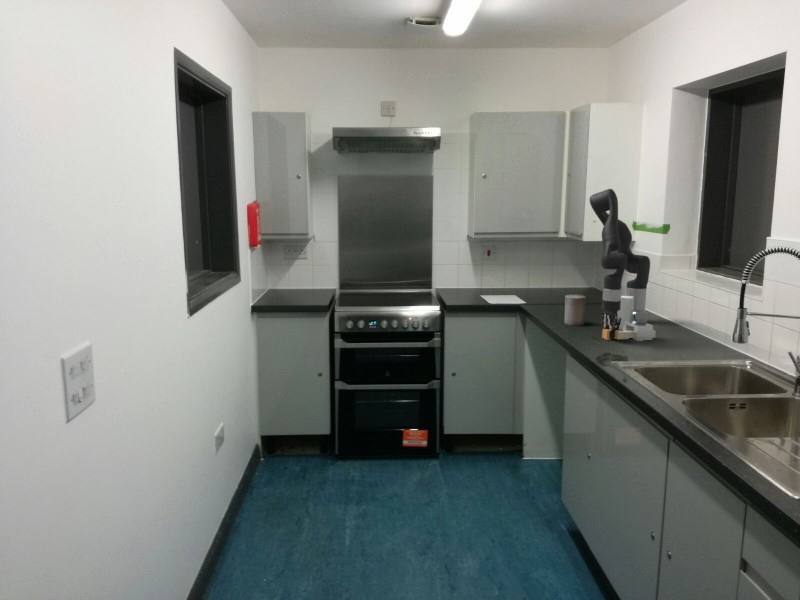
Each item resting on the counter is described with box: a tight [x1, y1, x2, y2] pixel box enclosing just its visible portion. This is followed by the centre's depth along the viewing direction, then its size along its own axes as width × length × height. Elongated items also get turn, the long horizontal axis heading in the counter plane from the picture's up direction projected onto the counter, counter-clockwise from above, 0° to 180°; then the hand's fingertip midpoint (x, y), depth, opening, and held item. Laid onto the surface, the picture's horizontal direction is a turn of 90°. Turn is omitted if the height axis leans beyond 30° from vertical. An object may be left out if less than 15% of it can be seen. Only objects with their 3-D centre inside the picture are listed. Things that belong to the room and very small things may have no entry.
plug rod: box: [601, 328, 656, 341], centre depth 262 cm, size 4×23×4 cm, turn 99°
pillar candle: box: [563, 294, 587, 327], centre depth 291 cm, size 10×10×15 cm
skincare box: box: [616, 295, 634, 331], centre depth 278 cm, size 8×7×16 cm
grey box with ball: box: [622, 310, 654, 342], centre depth 262 cm, size 12×7×12 cm, turn 9°
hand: (609, 337), depth 261 cm, fingers closed on plug rod, 4 cm apart
